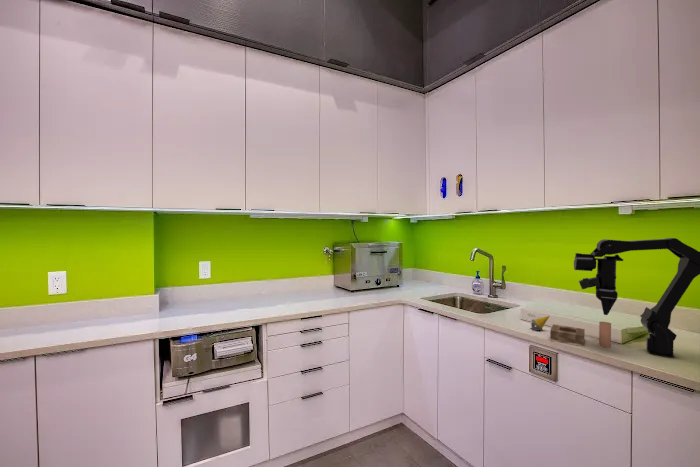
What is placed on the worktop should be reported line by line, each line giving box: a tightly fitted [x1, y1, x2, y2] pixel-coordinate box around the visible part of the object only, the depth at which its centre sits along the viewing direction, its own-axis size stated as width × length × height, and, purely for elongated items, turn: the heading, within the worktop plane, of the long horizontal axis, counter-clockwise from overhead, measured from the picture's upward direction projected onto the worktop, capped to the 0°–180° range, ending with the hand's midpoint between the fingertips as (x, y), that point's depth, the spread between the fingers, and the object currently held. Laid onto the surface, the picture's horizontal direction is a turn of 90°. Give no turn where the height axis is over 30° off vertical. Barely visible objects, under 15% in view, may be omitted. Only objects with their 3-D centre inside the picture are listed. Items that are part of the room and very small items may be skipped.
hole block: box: [549, 324, 586, 347], centre depth 133 cm, size 11×11×4 cm
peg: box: [598, 321, 612, 349], centre depth 126 cm, size 4×4×9 cm
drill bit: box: [530, 315, 550, 332], centre depth 145 cm, size 5×5×10 cm
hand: (605, 312), depth 126 cm, fingers open, 9 cm apart
